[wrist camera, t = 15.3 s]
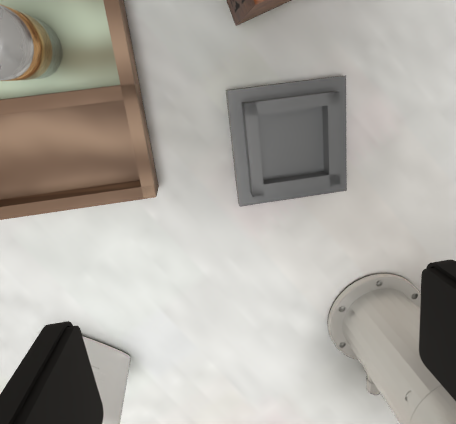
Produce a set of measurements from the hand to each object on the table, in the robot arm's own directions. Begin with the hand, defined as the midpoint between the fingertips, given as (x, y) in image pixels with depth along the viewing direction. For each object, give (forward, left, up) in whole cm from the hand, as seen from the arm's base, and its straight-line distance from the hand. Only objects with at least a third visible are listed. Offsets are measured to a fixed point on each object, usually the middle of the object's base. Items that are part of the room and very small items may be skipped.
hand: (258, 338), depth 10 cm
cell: (+11, +14, -29) cm, 34 cm away
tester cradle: (0, -9, -30) cm, 32 cm away
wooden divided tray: (+7, +14, -30) cm, 34 cm away
